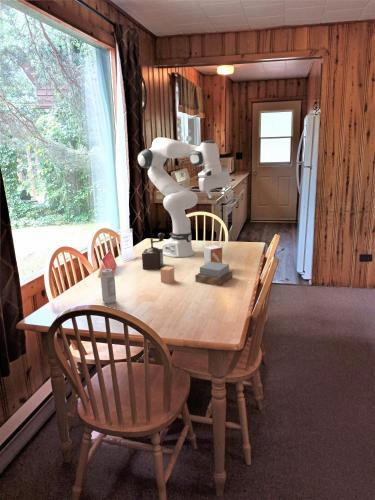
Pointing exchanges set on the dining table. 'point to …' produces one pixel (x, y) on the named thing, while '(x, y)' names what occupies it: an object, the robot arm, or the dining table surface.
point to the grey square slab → (214, 269)
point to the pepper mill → (153, 255)
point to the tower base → (213, 279)
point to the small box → (212, 254)
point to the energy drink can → (108, 286)
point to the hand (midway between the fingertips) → (217, 195)
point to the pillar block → (167, 274)
